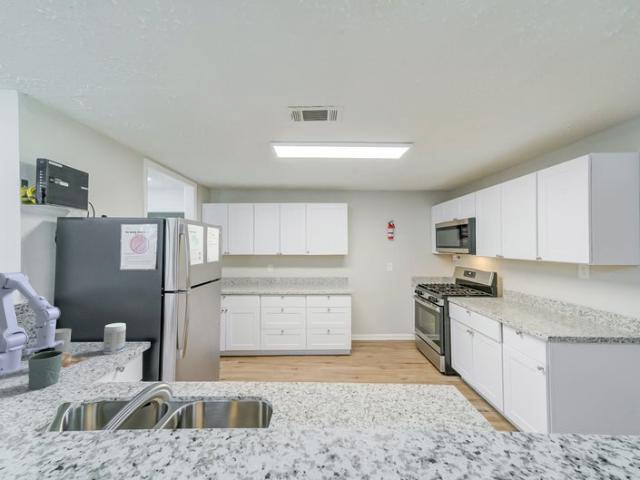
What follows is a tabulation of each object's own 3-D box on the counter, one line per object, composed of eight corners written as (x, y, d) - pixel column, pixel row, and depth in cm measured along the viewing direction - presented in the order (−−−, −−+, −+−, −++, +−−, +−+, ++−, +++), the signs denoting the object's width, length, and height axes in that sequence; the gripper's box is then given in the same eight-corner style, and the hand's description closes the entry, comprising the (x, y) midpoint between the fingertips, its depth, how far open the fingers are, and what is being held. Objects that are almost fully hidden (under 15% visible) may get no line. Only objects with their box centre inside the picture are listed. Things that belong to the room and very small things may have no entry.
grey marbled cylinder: (57, 358, 139) (59, 333, 139) (39, 357, 139) (41, 332, 140) (74, 351, 148) (76, 328, 149) (57, 351, 148) (59, 328, 149)
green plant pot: (58, 377, 118) (61, 348, 119) (62, 384, 112) (65, 354, 112) (24, 385, 110) (27, 354, 111) (26, 393, 104) (29, 361, 104)
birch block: (60, 366, 128) (61, 356, 129) (52, 365, 129) (53, 355, 130) (70, 362, 133) (71, 353, 133) (63, 361, 134) (63, 352, 134)
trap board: (65, 367, 128) (65, 366, 128) (46, 365, 129) (46, 364, 130) (90, 358, 139) (90, 357, 140) (73, 356, 141) (73, 355, 141)
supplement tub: (123, 347, 156) (125, 321, 157) (125, 352, 149) (127, 325, 150) (102, 351, 150) (104, 324, 151) (102, 356, 143) (104, 327, 144)
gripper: (34, 340, 117) (31, 373, 116) (70, 331, 131) (67, 360, 130) (21, 339, 118) (18, 371, 117) (58, 330, 132) (55, 359, 131)
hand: (43, 365), depth 124 cm, fingers closed
